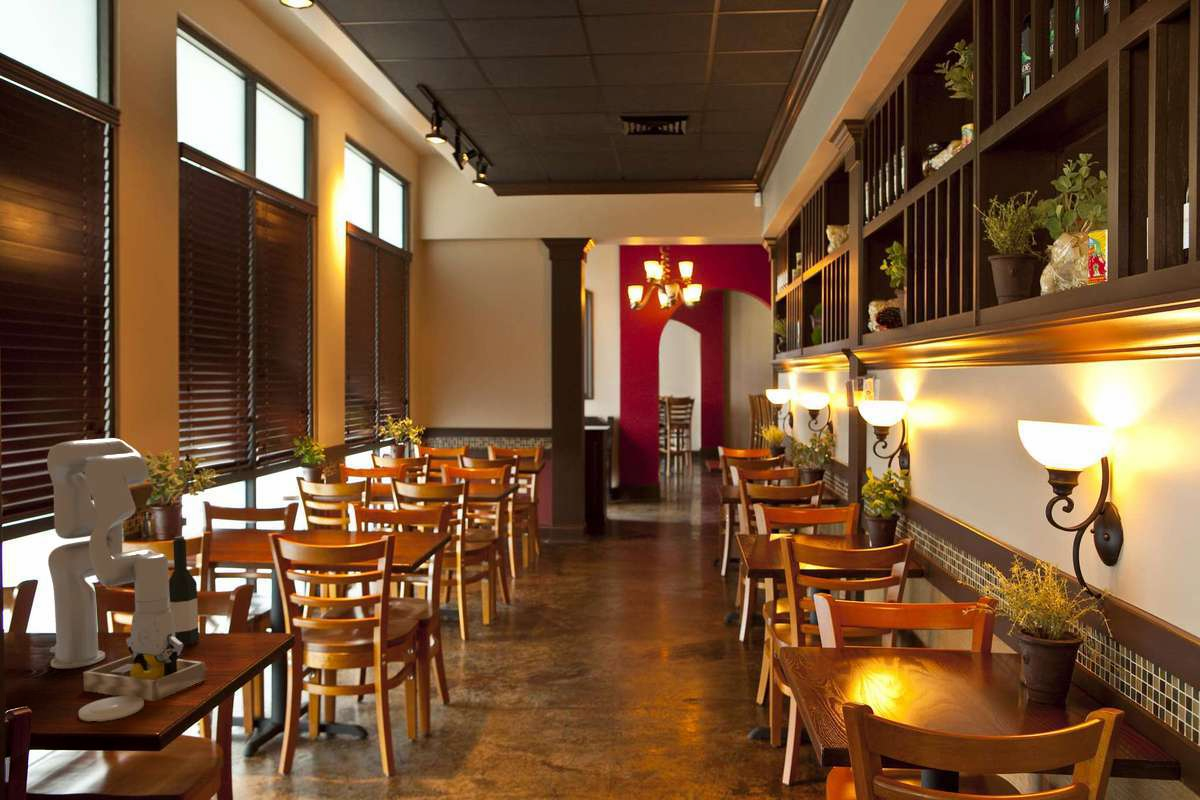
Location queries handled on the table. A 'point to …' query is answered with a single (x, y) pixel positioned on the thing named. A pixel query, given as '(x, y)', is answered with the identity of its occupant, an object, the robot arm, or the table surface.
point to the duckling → (155, 672)
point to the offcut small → (123, 670)
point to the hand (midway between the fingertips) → (155, 675)
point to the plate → (111, 708)
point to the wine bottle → (183, 596)
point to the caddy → (143, 680)
